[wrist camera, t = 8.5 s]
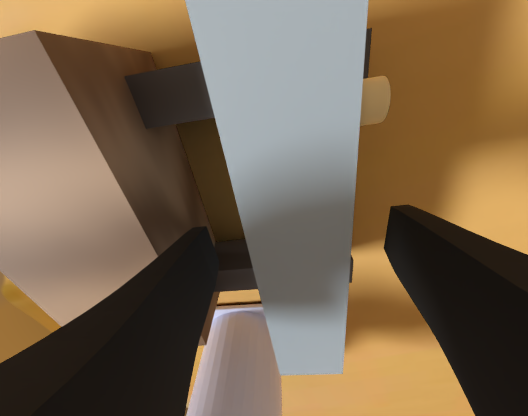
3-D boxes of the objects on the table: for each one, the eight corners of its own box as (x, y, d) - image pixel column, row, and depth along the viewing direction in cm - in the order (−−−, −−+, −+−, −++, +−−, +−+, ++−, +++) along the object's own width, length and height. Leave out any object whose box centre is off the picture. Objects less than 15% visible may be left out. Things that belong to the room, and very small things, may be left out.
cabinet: (339, 260, 17) (367, 338, 12) (137, 276, 19) (87, 350, 14) (347, 11, 10) (433, -62, 4) (9, 81, 11) (-205, 85, 6)
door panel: (330, 254, 17) (368, 373, 10) (277, 258, 18) (280, 375, 11) (332, 27, 10) (460, -80, 3) (242, 45, 10) (181, -13, 4)
